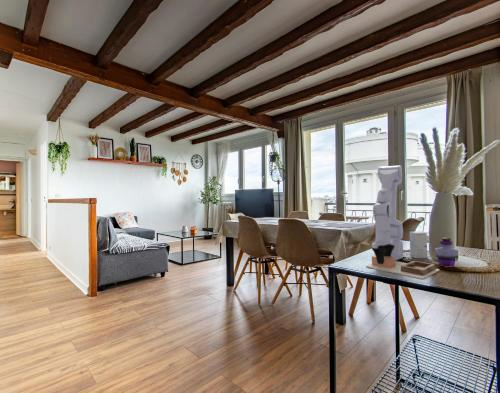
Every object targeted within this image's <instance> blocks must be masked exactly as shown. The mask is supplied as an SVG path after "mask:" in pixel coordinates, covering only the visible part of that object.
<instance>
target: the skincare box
mask: <svg viewBox="0 0 500 393" xmlns="http://www.w3.org/2000/svg"><path fill="white" fill-rule="evenodd" d="M409 256H410V257H411V258H413V257H414V259H427V258H428V233H427V232H426V231H421V230H420V231H409Z"/></svg>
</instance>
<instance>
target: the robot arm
mask: <svg viewBox="0 0 500 393" xmlns="http://www.w3.org/2000/svg"><path fill="white" fill-rule="evenodd" d="M377 177H378V179H379V182H380V184H381V187H380V188H381V189H380V190H379V191H378V193H377V198H376V202H375V204H373V207H372V212H373V219H374V221H375V222H374V226H375V228H374V229H375V232H374V233H375V241H374V242H372V243H371V250H372V251H373V254H374V255H375V256H376V259H377V262H378V263H379V264H383V263H384V256H388V257H394V258H396V261H398V260H401V259H403V257H404V258H406V256H405V255H404V244H403V241H402V239H403V238H404V226H403V223H402V222H401V221H400V220H398V219H397V197H398V196H397V195H398V193H397V191H398V190H397V189H398V186H400V185H401V184H402V183H403V182H402V181H403V167H402V165H399V164H398V165H389V166H378V169H377Z"/></svg>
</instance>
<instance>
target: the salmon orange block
mask: <svg viewBox="0 0 500 393" xmlns="http://www.w3.org/2000/svg"><path fill="white" fill-rule="evenodd" d="M396 262H397V260H396V258H394V257H388V256H384V263H383V264H379V263H378V262H377V259H376V256H375V254H374V255H372V256H371V264H373V265H378V266H383V267H388V268H392V267H394V266H396Z"/></svg>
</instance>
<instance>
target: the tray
mask: <svg viewBox="0 0 500 393" xmlns="http://www.w3.org/2000/svg"><path fill="white" fill-rule="evenodd" d="M436 265H437V264H436V263H430V262H425V261H418V260H413V261H409V262H407V264H405V265H402V266H401V271H403V272H408V273H413V274H418V275H422V276H423V275H425V274H427V273H429V272H431V271H433V270H435V269H437V268H436V267H437V266H436Z"/></svg>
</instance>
